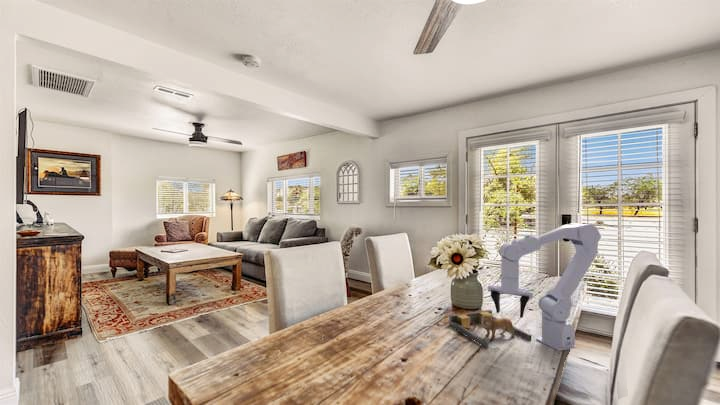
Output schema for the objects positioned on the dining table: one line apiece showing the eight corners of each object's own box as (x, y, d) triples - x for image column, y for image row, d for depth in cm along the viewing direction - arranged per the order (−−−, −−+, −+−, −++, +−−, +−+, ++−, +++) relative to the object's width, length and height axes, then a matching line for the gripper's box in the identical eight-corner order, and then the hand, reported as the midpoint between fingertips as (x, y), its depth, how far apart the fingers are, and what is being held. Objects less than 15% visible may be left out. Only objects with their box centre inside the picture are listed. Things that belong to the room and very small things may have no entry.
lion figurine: (487, 342, 108) (487, 317, 108) (476, 336, 113) (477, 312, 113) (519, 337, 113) (519, 313, 113) (508, 331, 118) (508, 308, 118)
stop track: (531, 340, 110) (531, 329, 110) (485, 348, 104) (485, 336, 104) (489, 319, 130) (489, 309, 130) (448, 325, 123) (448, 315, 123)
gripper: (534, 277, 109) (533, 315, 109) (491, 272, 117) (490, 307, 117) (531, 281, 103) (531, 321, 103) (486, 275, 111) (486, 312, 111)
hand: (509, 314), depth 110 cm, fingers open, 7 cm apart
